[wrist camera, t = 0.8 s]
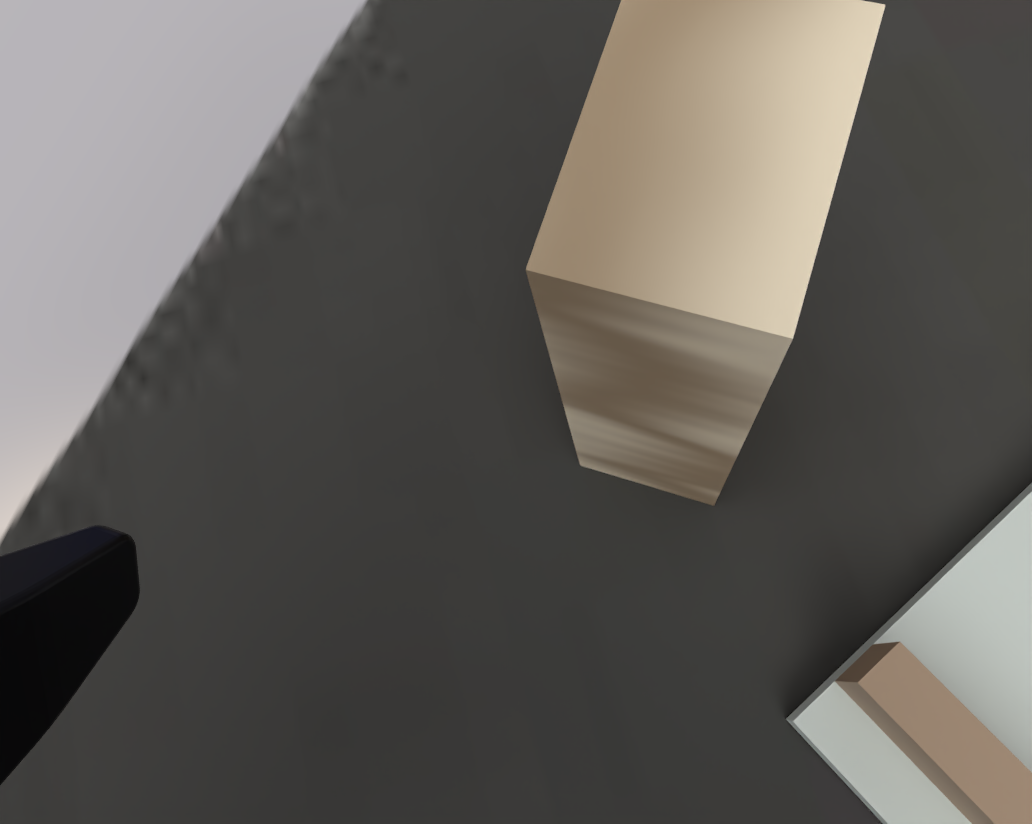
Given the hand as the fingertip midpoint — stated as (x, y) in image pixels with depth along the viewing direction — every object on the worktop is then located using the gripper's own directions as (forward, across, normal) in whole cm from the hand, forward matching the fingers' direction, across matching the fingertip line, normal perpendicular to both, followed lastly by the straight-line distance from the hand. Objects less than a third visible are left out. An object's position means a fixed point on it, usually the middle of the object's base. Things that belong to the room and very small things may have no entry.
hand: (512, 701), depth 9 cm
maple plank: (+15, 0, +4) cm, 15 cm away
